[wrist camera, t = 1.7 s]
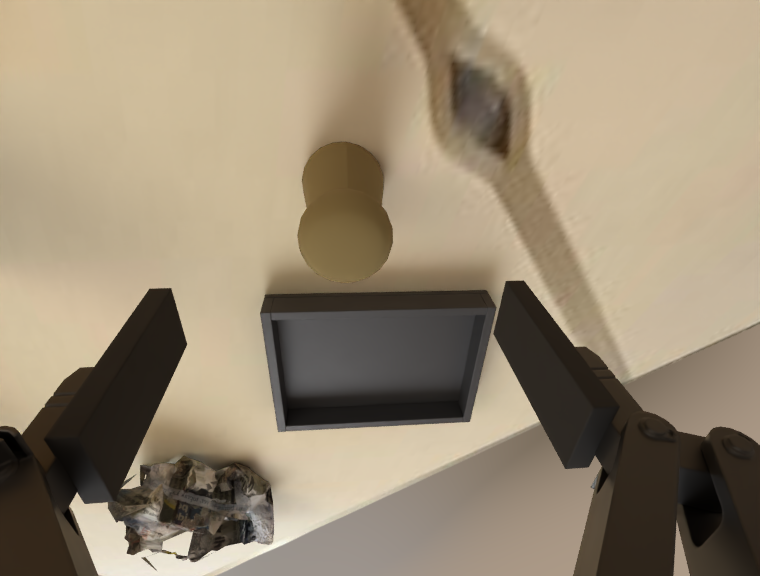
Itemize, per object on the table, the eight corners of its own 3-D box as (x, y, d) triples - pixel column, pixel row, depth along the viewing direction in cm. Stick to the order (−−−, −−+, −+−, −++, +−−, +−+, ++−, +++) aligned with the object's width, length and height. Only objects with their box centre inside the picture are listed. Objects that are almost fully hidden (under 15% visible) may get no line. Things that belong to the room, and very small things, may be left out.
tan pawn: (363, 232, 32) (375, 313, 23) (290, 204, 31) (271, 279, 21) (397, 162, 30) (425, 222, 20) (319, 127, 28) (310, 174, 19)
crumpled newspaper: (194, 556, 50) (95, 594, 36) (196, 463, 55) (108, 465, 41) (283, 540, 49) (215, 573, 35) (277, 446, 53) (215, 443, 40)
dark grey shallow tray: (486, 290, 36) (496, 307, 34) (463, 402, 44) (469, 422, 42) (264, 294, 35) (260, 312, 32) (281, 410, 42) (278, 432, 40)
